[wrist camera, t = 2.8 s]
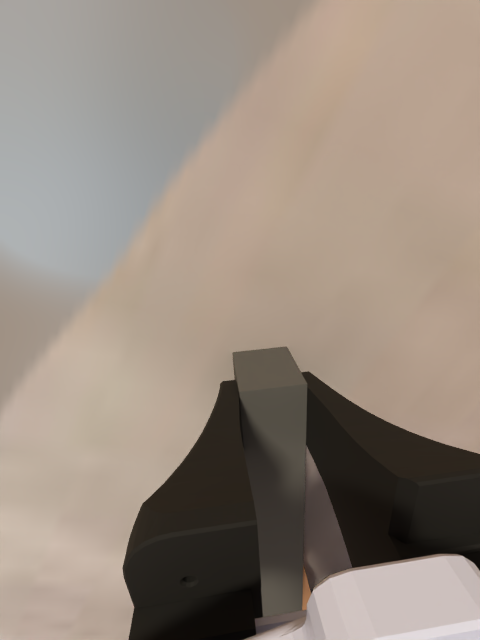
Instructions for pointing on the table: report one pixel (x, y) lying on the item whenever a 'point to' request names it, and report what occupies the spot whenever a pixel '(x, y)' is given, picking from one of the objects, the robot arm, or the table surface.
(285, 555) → the grey orange long bar
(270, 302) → the table surface
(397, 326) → the table surface
